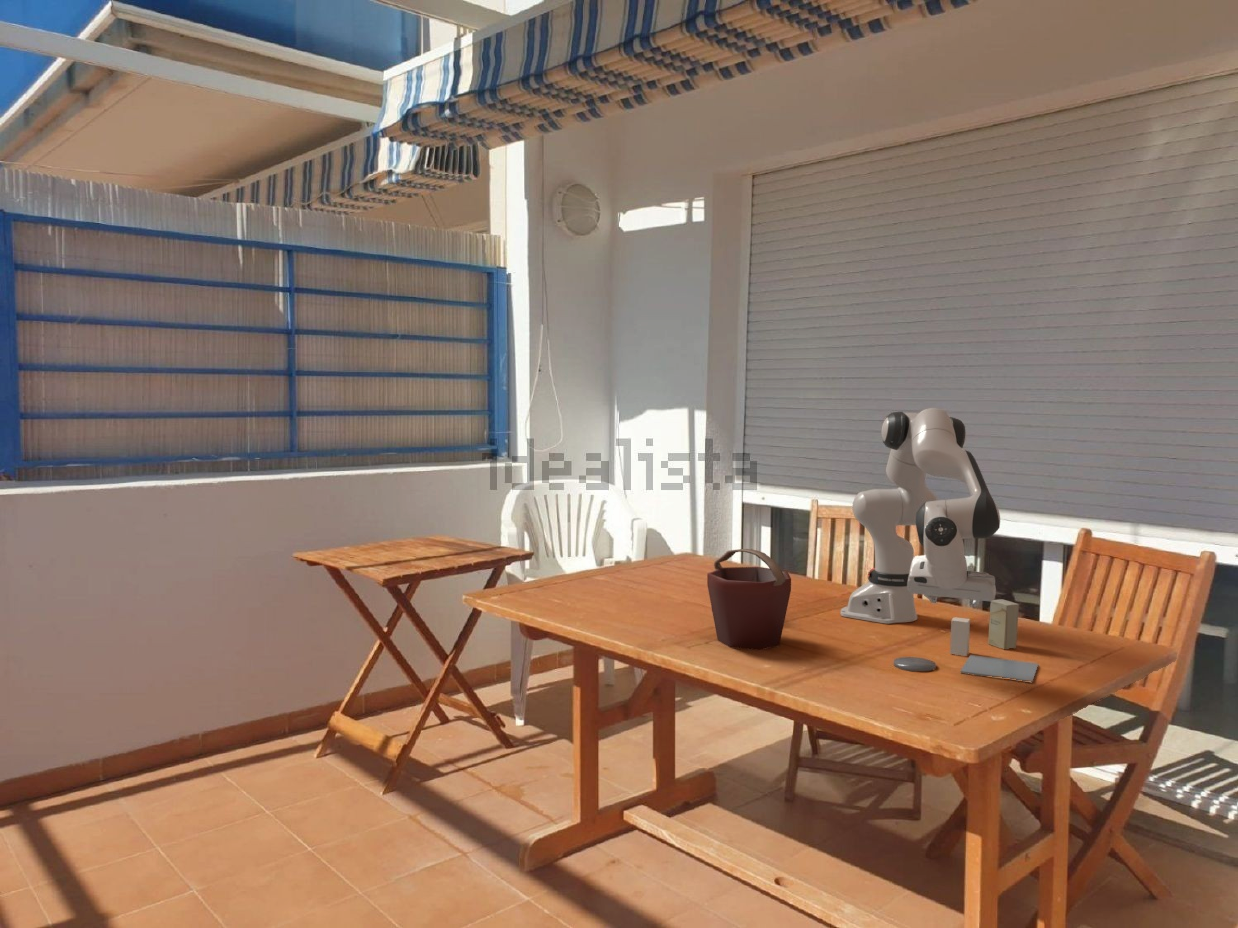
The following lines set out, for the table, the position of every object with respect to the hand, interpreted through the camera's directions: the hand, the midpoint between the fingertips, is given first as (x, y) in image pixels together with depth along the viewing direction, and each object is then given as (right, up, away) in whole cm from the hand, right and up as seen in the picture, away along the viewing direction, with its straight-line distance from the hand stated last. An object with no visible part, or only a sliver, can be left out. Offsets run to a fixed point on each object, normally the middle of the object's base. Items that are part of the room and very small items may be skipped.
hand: (953, 602), depth 232 cm
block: (+6, -15, +12) cm, 20 cm away
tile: (+11, -16, -2) cm, 19 cm away
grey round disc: (-9, -16, +1) cm, 18 cm away
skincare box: (+20, -15, +19) cm, 31 cm away
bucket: (-47, -14, +24) cm, 55 cm away
